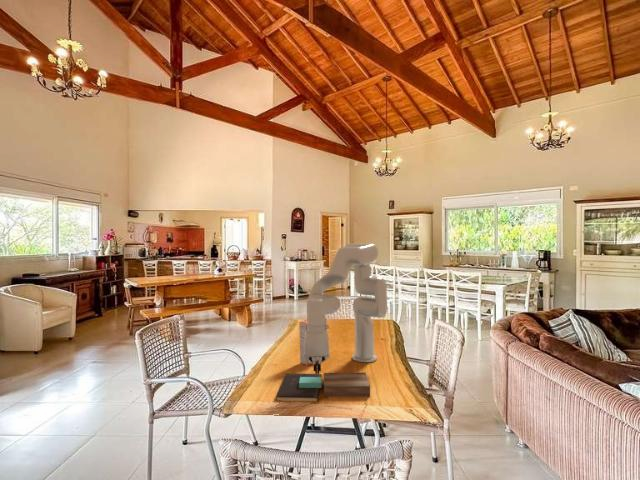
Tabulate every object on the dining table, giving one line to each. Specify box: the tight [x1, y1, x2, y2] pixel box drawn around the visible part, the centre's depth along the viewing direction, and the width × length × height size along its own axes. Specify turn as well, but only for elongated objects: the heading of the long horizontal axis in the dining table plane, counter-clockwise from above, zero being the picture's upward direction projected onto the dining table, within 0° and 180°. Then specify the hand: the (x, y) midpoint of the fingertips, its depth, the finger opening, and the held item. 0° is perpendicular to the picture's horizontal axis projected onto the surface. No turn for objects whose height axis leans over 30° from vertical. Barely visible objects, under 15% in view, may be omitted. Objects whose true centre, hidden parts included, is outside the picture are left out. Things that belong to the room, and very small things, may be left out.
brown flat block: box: [323, 371, 371, 398], centre depth 145 cm, size 14×18×4 cm
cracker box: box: [298, 317, 328, 366], centre depth 178 cm, size 14×6×21 cm, turn 135°
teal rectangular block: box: [299, 377, 323, 389], centre depth 145 cm, size 6×9×2 cm, turn 89°
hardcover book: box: [275, 372, 322, 402], centre depth 146 cm, size 16×23×2 cm
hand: (317, 372), depth 145 cm, fingers closed
